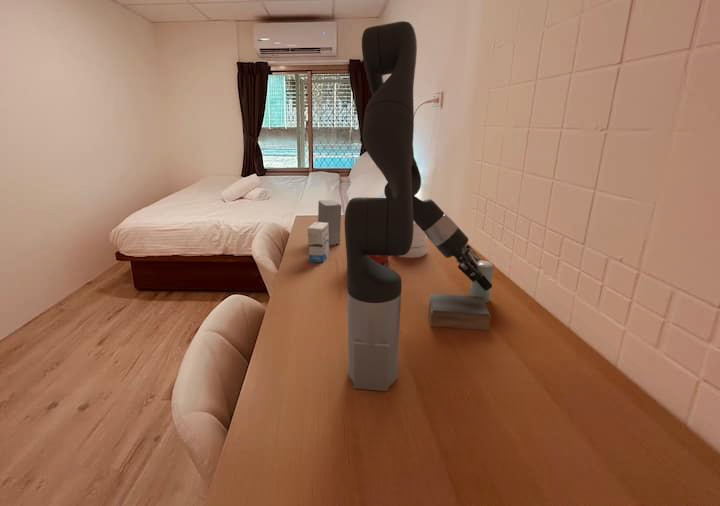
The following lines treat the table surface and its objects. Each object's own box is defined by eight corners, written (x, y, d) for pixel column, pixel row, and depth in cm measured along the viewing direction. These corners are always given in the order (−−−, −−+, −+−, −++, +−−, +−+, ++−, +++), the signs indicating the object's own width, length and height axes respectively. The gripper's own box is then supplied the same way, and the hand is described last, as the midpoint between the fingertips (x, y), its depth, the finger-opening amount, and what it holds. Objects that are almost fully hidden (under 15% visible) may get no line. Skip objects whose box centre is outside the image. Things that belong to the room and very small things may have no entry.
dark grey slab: (488, 330, 84) (491, 314, 82) (430, 326, 85) (431, 310, 84) (481, 310, 92) (483, 296, 91) (428, 307, 94) (429, 293, 92)
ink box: (322, 263, 122) (321, 229, 118) (308, 262, 123) (306, 228, 119) (330, 254, 130) (329, 222, 126) (316, 253, 131) (315, 221, 127)
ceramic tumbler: (491, 304, 95) (496, 268, 92) (471, 302, 96) (475, 267, 93) (487, 295, 100) (492, 260, 97) (468, 294, 101) (472, 259, 97)
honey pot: (426, 258, 126) (430, 206, 120) (388, 256, 128) (390, 205, 122) (426, 246, 138) (429, 198, 132) (391, 244, 140) (393, 197, 134)
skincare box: (317, 240, 144) (315, 200, 139) (334, 238, 147) (333, 198, 142) (324, 247, 137) (323, 205, 132) (342, 244, 140) (341, 203, 135)
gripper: (455, 234, 87) (502, 287, 88) (458, 219, 100) (500, 265, 101) (430, 253, 90) (477, 304, 91) (437, 236, 103) (477, 281, 104)
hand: (488, 283), depth 96 cm, fingers closed on ceramic tumbler, 5 cm apart
